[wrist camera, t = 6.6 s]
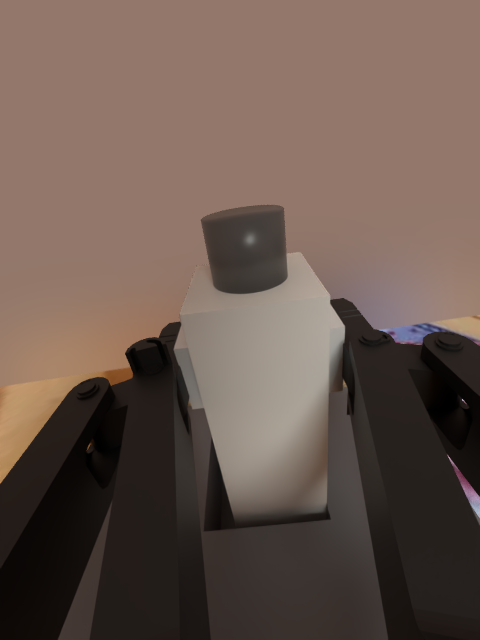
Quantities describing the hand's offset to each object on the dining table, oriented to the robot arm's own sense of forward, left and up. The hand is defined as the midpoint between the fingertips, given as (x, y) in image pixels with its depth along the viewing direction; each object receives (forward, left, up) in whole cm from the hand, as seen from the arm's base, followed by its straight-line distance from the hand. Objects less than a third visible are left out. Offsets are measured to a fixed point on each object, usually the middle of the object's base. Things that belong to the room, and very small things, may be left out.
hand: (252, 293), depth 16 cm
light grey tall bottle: (0, +5, -10) cm, 11 cm away
